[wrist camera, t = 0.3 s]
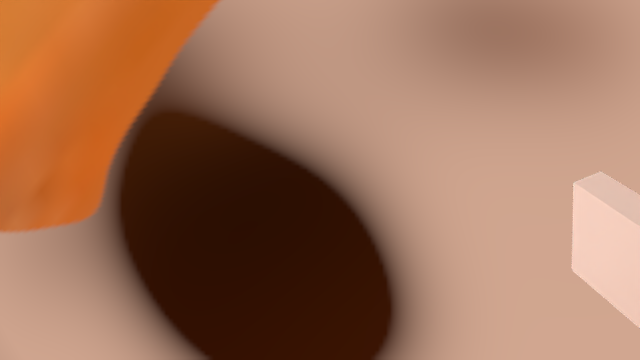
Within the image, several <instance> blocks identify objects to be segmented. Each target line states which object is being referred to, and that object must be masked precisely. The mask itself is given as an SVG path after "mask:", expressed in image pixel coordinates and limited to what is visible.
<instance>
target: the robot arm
mask: <svg viewBox="0 0 640 360" xmlns="http://www.w3.org/2000/svg"><path fill="white" fill-rule="evenodd" d="M573 185H574V186H573V230H572V271H573V272H575V273H576V274H577V275H578V276H579V277H581V278H582V279H583V280H584V281H585V282H586V283H588V284H589V285H590V286H591V287H592V288H593V289H595V290H596V291H597V292H598V293H599V294H600V295H601V296H603V297H604V298H605V299H606V300H607V301H608V302H610V303H611V304H612V305H613V306H614V307H615V308H617V309H618V310H619V311H620V312H621V313H622V314H624V315H625V316H626V317H627V318H628V319H629V320H631V321H632V322H633V323H634V324H635V325H636V326H638V327H639V328H640V194H638V193H636V192H635V191H633V190H631V189H630V188H628V187H626V186H625V185H623V184H621V183H620V182H618V181H617V180H615V179H613V178H612V177H610V176H608V175H607V174H605V173H603V172H602V171H600V172H598V173H595V174H593V175H590V176H588V177H585V178H583V179H580V180H578V181H575V182H574V183H573Z"/></svg>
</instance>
